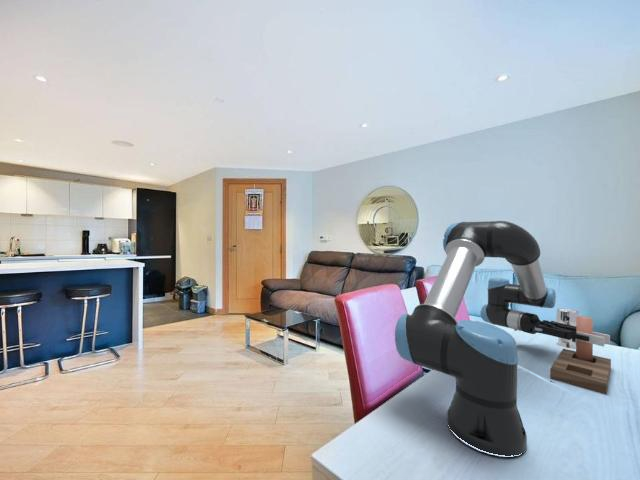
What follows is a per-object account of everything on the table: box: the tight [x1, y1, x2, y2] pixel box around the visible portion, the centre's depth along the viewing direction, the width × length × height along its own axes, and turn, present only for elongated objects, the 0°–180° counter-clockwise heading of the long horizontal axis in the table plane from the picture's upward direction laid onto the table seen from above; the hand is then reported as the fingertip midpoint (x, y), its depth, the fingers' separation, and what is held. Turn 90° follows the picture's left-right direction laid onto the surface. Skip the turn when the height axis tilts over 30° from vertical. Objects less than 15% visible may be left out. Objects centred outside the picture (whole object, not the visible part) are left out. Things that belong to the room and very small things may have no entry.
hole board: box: [549, 348, 612, 396], centre depth 89 cm, size 24×12×4 cm, turn 132°
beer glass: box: [555, 308, 580, 349], centre depth 113 cm, size 7×7×15 cm
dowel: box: [575, 315, 594, 362], centre depth 94 cm, size 4×4×14 cm
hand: (606, 340), depth 89 cm, fingers closed on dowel, 4 cm apart
